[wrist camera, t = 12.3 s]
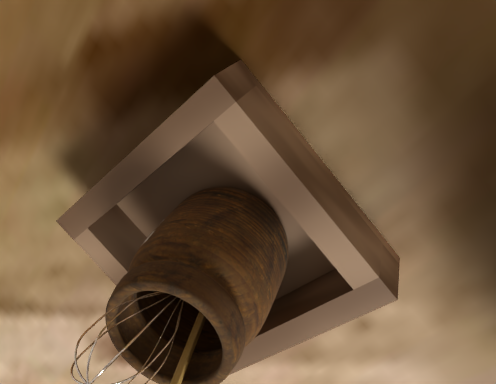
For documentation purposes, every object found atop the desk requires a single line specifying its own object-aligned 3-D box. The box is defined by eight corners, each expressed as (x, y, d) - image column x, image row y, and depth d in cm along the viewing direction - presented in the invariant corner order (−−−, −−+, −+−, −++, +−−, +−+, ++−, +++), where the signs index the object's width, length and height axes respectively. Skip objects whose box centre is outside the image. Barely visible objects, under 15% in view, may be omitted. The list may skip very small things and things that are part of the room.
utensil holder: (286, 180, 20) (156, 410, 10) (298, 299, 23) (204, 575, 13) (164, 179, 22) (-47, 372, 12) (188, 288, 25) (31, 522, 15)
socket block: (399, 252, 21) (397, 299, 18) (231, 336, 27) (208, 384, 24) (244, 57, 20) (214, 75, 17) (98, 189, 25) (56, 221, 22)
